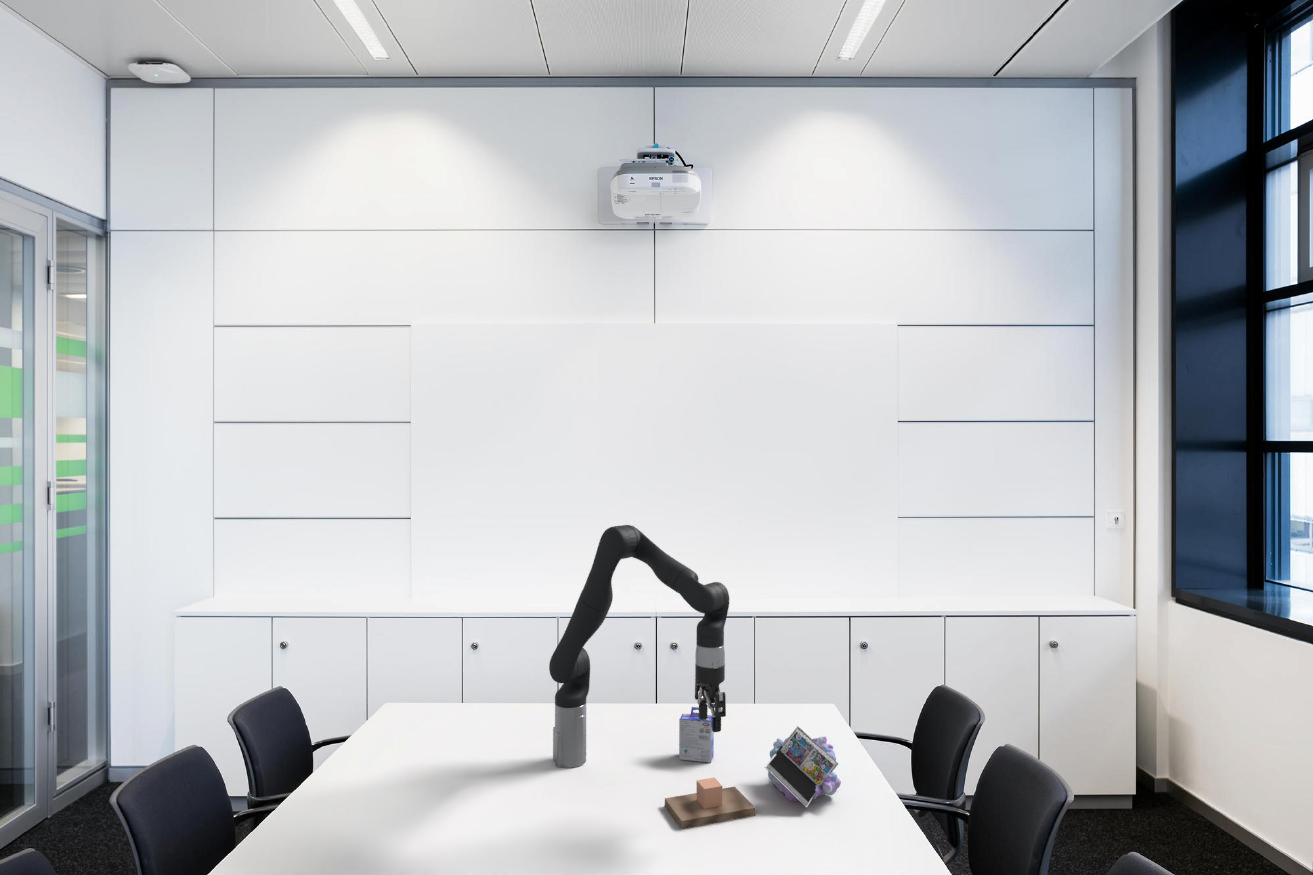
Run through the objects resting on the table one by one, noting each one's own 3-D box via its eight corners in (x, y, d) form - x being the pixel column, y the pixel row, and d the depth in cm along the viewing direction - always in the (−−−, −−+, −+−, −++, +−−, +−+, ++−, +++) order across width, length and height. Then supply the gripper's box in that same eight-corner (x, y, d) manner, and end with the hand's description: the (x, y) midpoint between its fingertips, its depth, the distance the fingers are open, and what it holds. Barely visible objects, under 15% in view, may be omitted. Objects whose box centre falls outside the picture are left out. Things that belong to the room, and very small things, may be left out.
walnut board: (681, 829, 181) (681, 821, 181) (664, 806, 193) (664, 798, 193) (755, 815, 188) (755, 807, 188) (734, 793, 199) (734, 786, 199)
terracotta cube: (704, 808, 187) (704, 788, 187) (696, 799, 192) (696, 780, 192) (722, 805, 189) (722, 785, 189) (714, 796, 194) (714, 777, 194)
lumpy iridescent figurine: (823, 751, 215) (794, 702, 213) (869, 781, 195) (837, 726, 192) (771, 798, 209) (740, 748, 206) (812, 833, 189) (778, 778, 186)
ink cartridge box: (714, 755, 223) (714, 707, 223) (711, 763, 218) (712, 713, 218) (681, 752, 225) (682, 704, 225) (678, 760, 220) (678, 711, 220)
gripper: (686, 655, 196) (685, 716, 196) (707, 671, 182) (707, 737, 182) (712, 652, 198) (711, 713, 198) (735, 668, 185) (735, 733, 185)
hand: (709, 725), depth 190 cm, fingers open, 8 cm apart
